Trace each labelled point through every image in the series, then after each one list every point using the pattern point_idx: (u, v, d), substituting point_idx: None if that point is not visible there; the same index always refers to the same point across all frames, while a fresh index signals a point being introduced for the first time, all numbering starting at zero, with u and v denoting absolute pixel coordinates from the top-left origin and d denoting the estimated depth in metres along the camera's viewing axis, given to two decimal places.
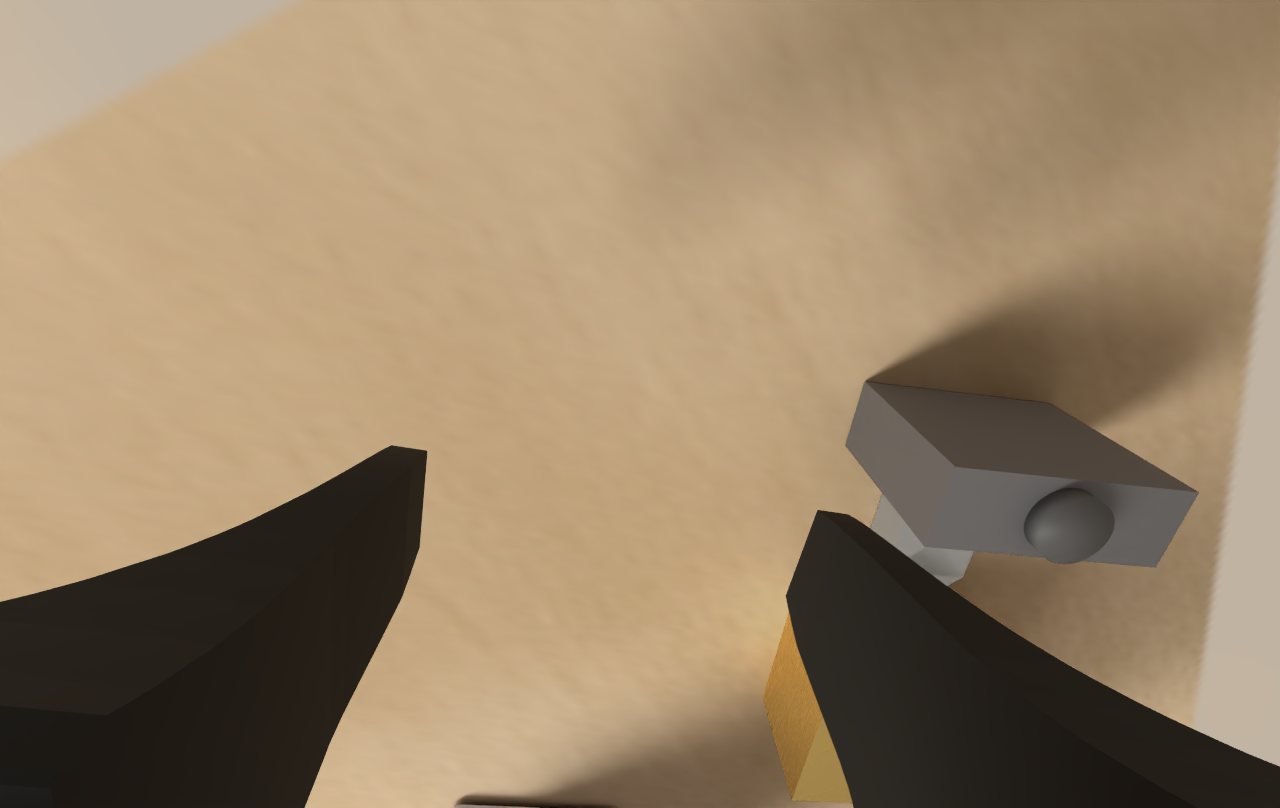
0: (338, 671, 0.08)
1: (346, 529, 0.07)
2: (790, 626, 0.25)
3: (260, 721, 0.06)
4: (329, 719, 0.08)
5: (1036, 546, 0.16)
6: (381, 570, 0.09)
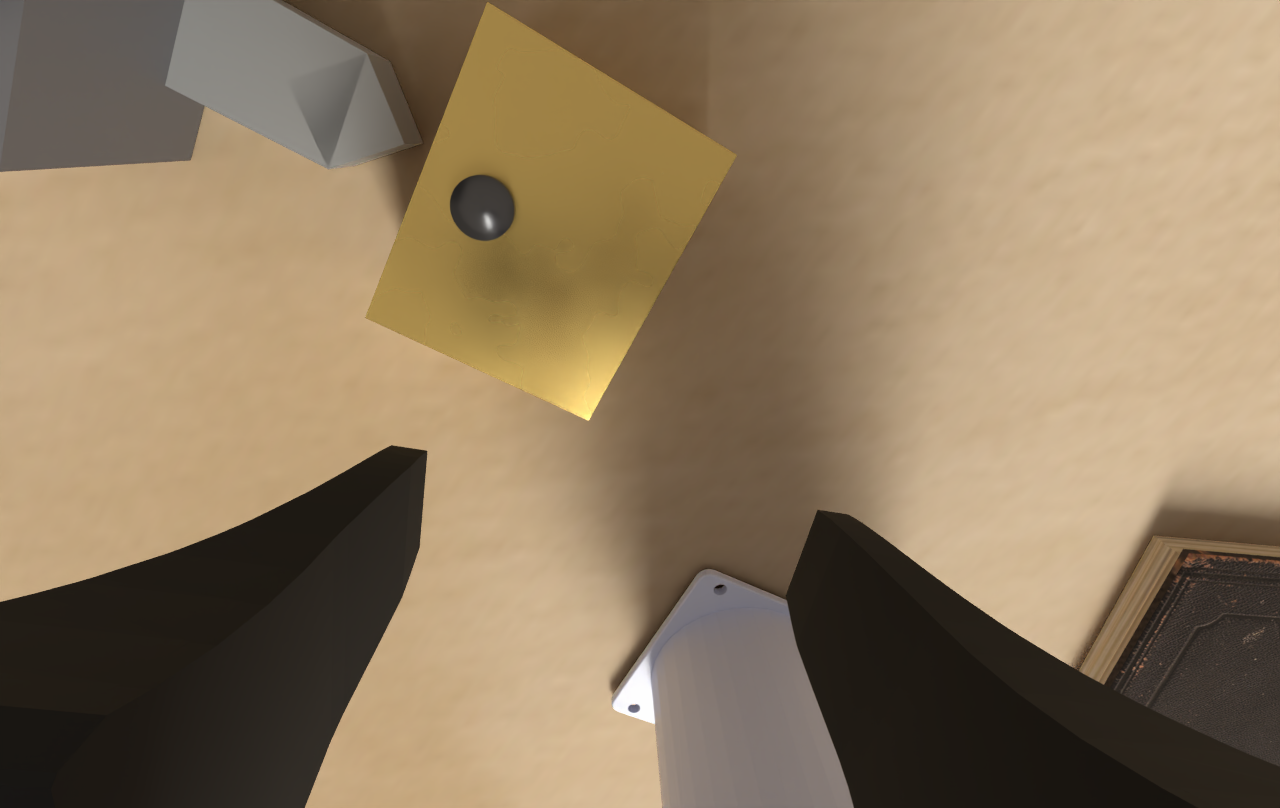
0: (338, 671, 0.08)
1: (346, 529, 0.07)
2: None
3: (260, 721, 0.06)
4: (330, 718, 0.08)
5: None
6: (381, 570, 0.09)
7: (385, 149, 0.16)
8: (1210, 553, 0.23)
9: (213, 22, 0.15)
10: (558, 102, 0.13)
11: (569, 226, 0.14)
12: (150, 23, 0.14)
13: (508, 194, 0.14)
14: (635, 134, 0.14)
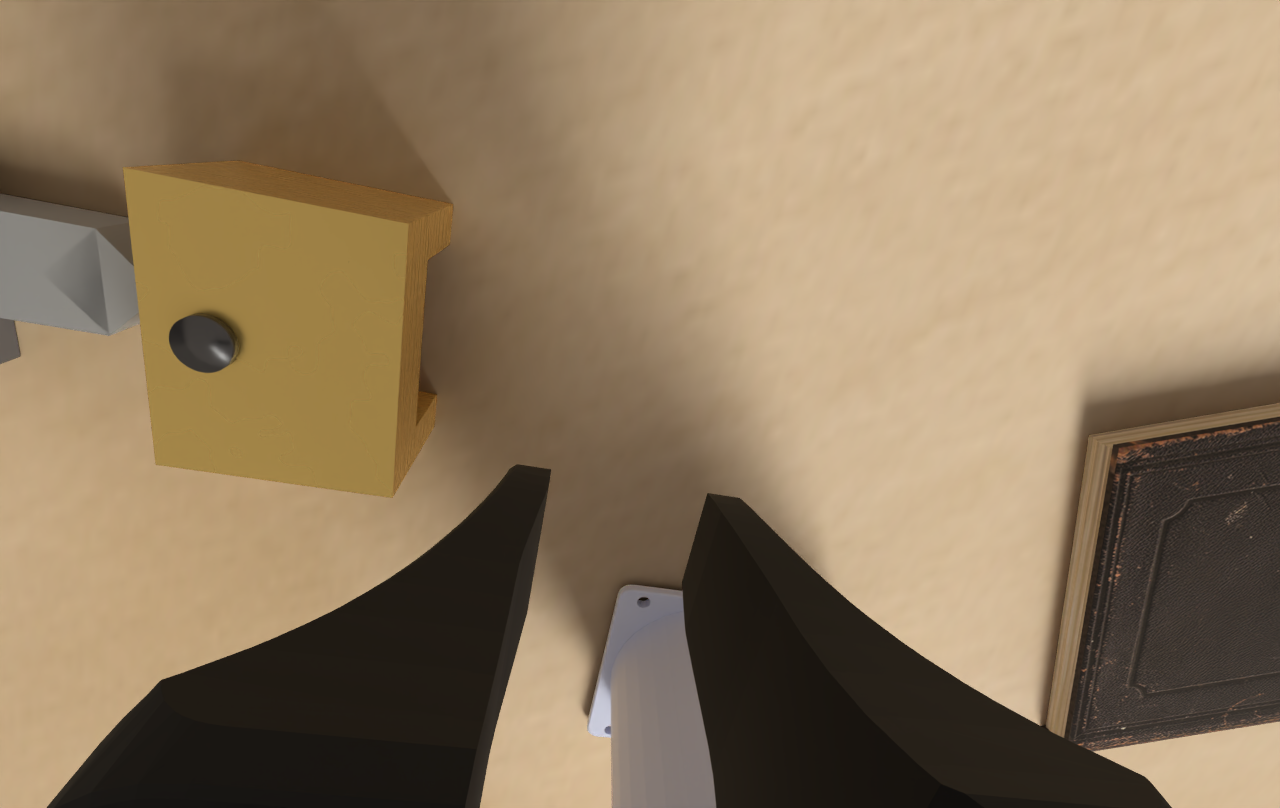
0: (500, 688, 0.08)
1: (523, 553, 0.08)
2: None
3: (486, 742, 0.06)
4: (492, 734, 0.08)
5: None
6: (525, 588, 0.09)
7: None
8: (1145, 441, 0.21)
9: None
10: (225, 231, 0.14)
11: (289, 334, 0.15)
12: None
13: (216, 325, 0.14)
14: (307, 236, 0.14)
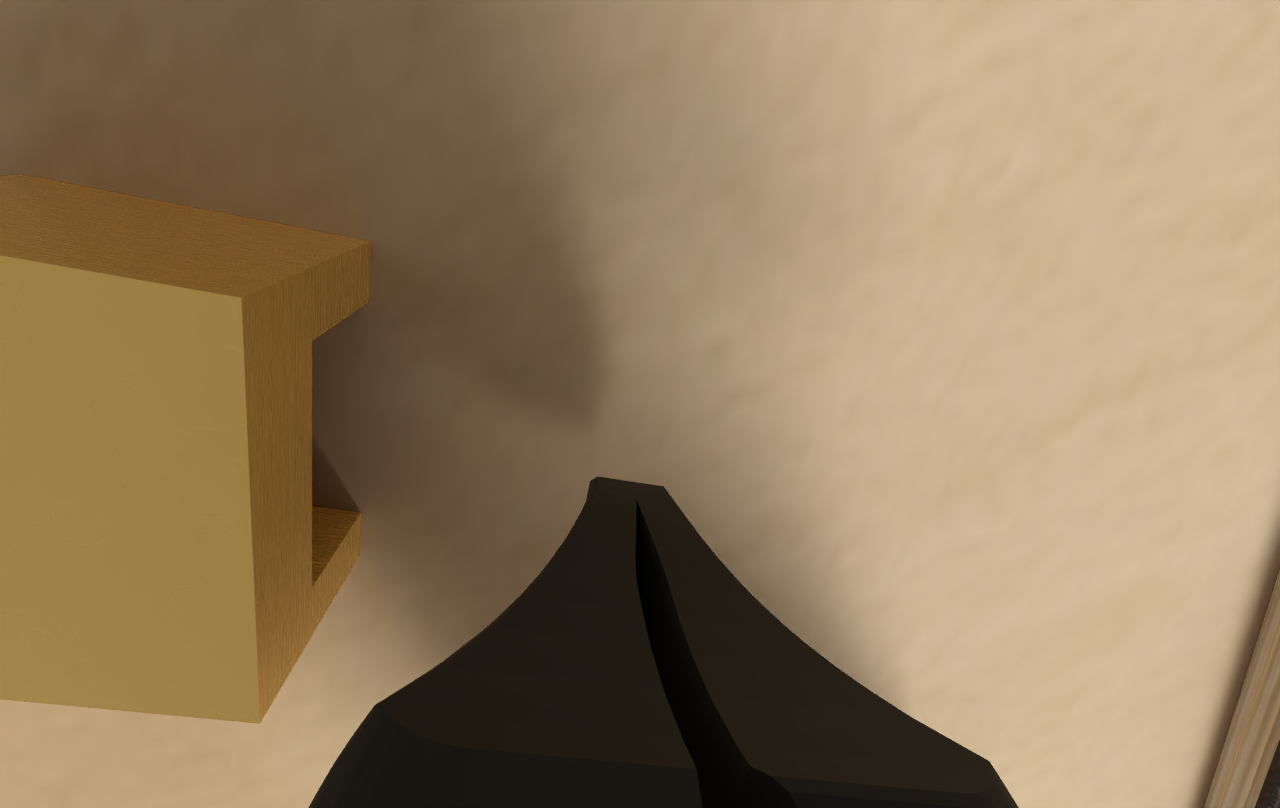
0: None
1: (634, 567, 0.08)
2: None
3: None
4: None
5: None
6: None
7: None
8: None
9: None
10: None
11: (49, 486, 0.08)
12: None
13: None
14: (54, 321, 0.08)
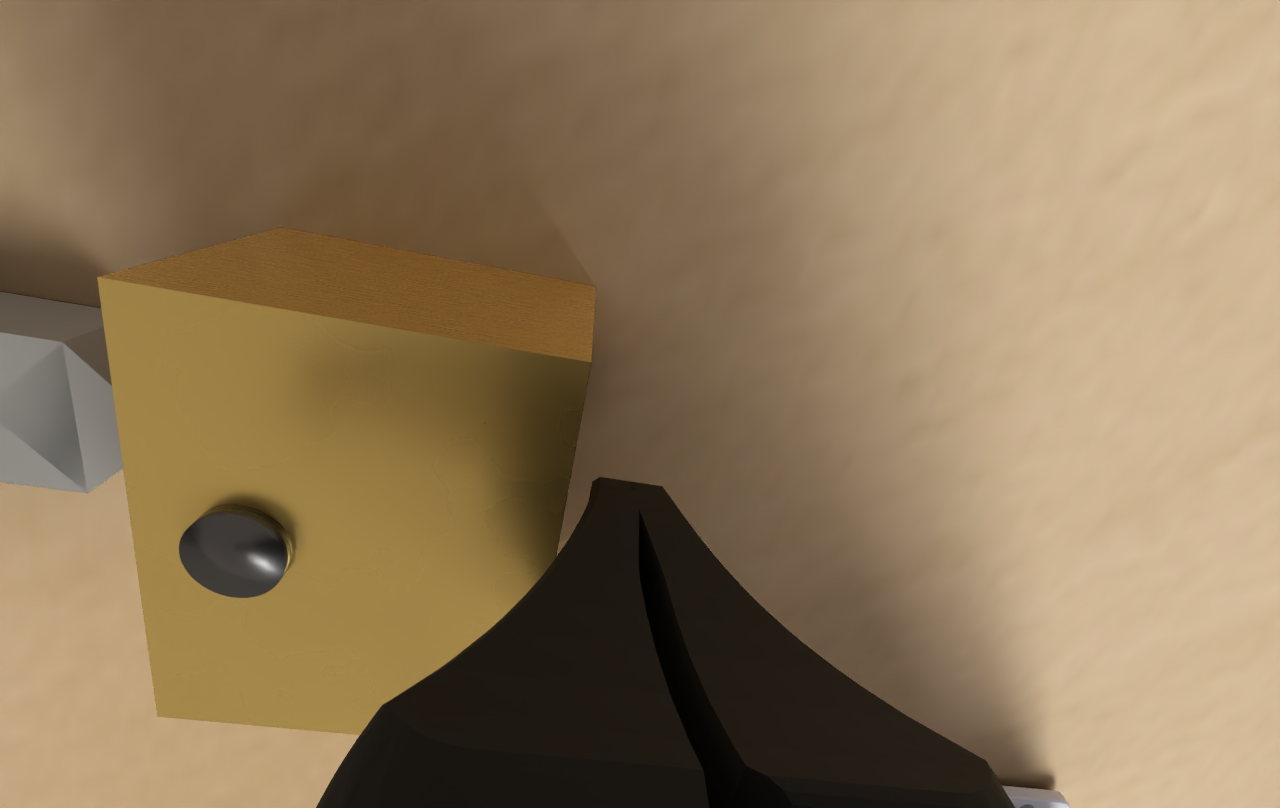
0: None
1: (637, 568, 0.08)
2: None
3: None
4: None
5: None
6: None
7: None
8: None
9: None
10: (277, 379, 0.08)
11: (378, 533, 0.09)
12: None
13: (259, 529, 0.09)
14: (417, 385, 0.08)
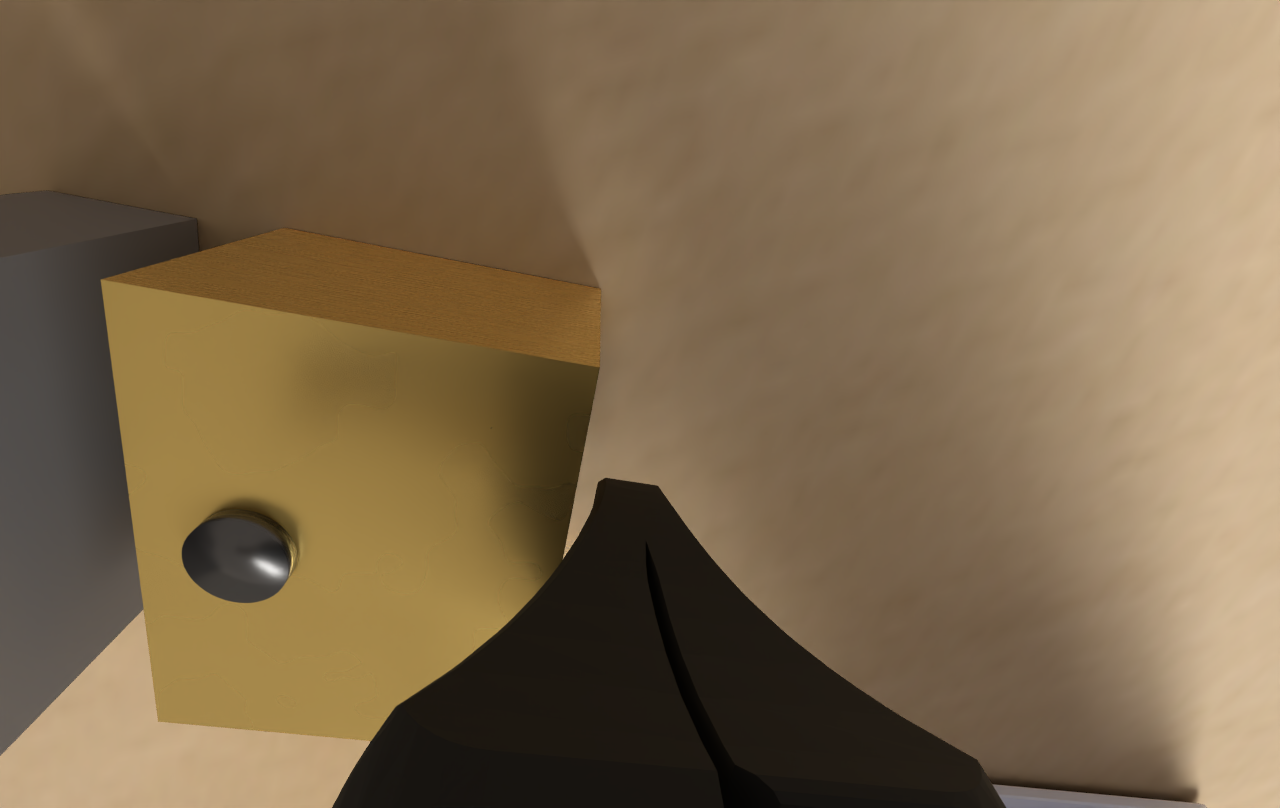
0: None
1: (645, 569, 0.08)
2: None
3: None
4: None
5: None
6: None
7: None
8: None
9: None
10: (283, 383, 0.08)
11: (382, 538, 0.09)
12: (111, 463, 0.10)
13: (263, 533, 0.08)
14: (424, 389, 0.08)
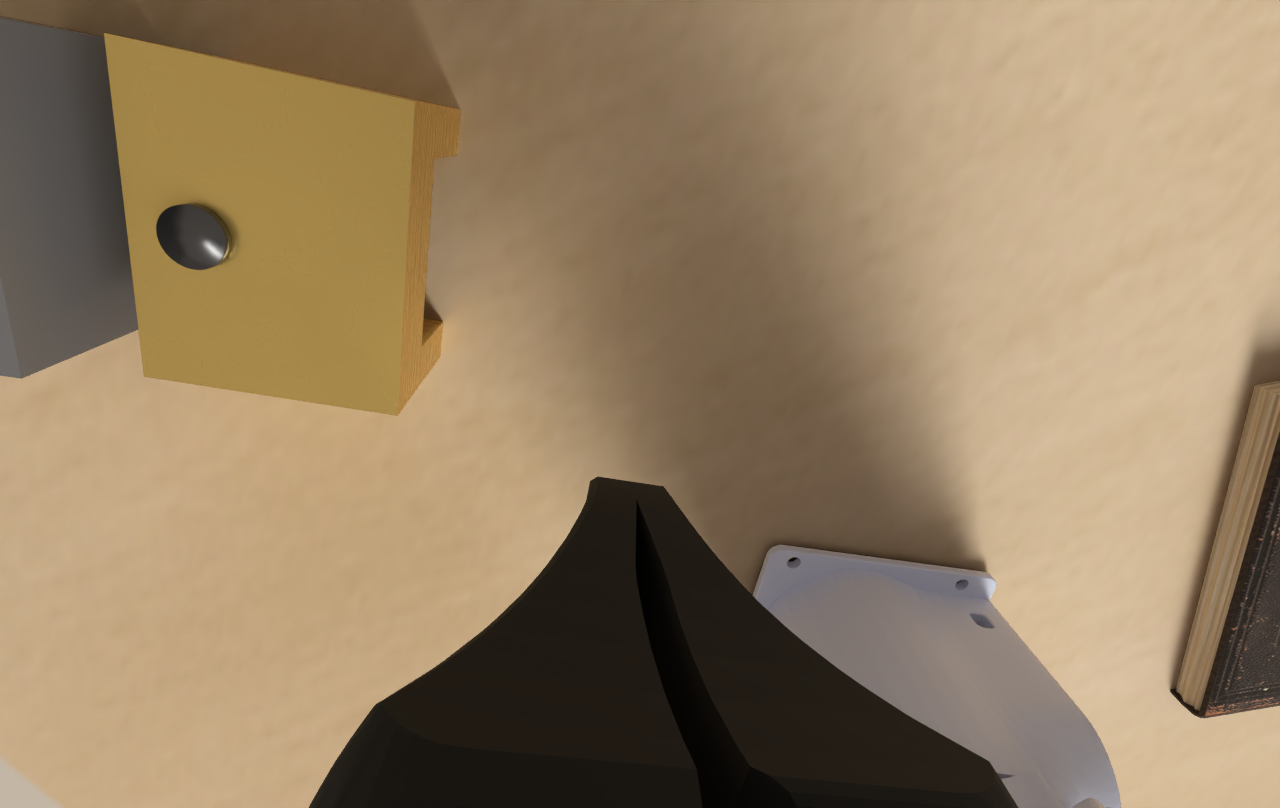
0: None
1: (634, 567, 0.08)
2: None
3: None
4: None
5: None
6: None
7: None
8: None
9: None
10: (216, 108, 0.13)
11: (287, 229, 0.14)
12: (110, 205, 0.15)
13: (207, 214, 0.13)
14: (305, 115, 0.13)
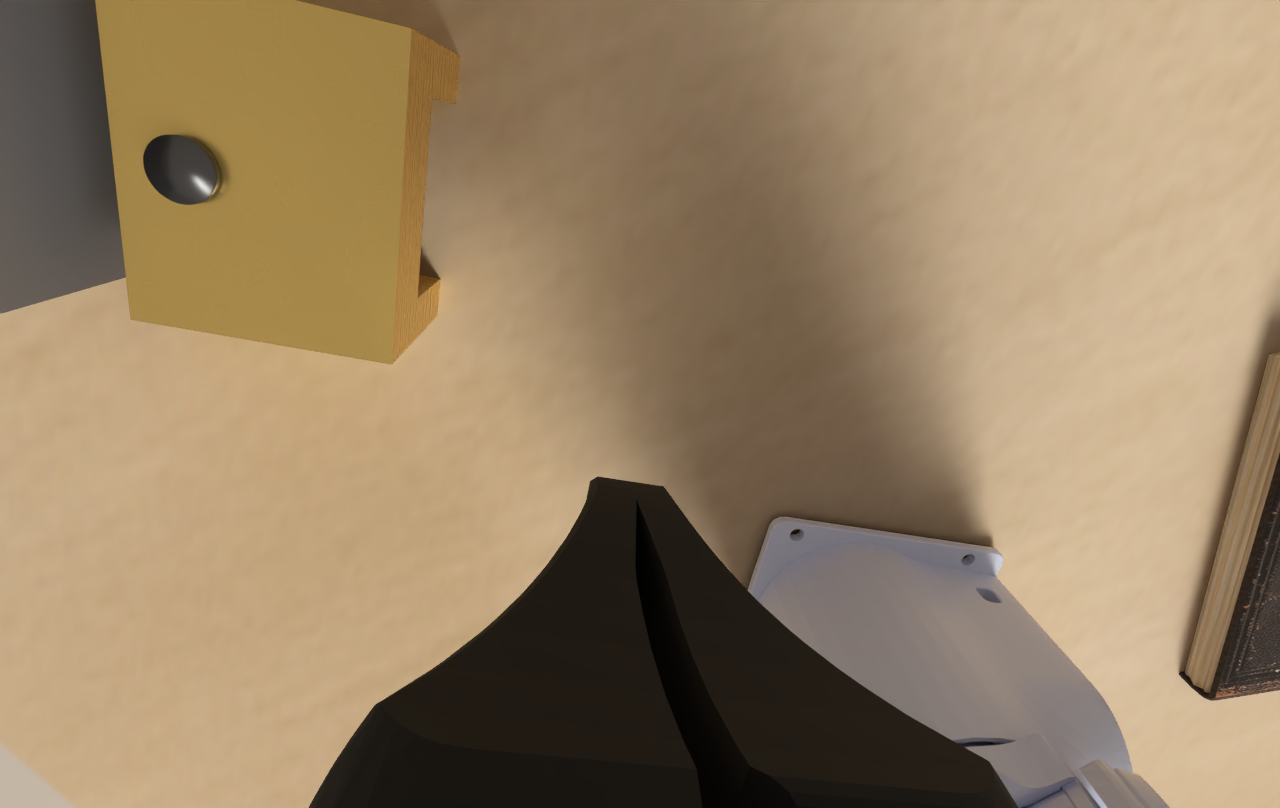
0: None
1: (634, 567, 0.08)
2: None
3: None
4: None
5: None
6: None
7: None
8: None
9: None
10: (206, 33, 0.12)
11: (278, 163, 0.13)
12: (97, 143, 0.15)
13: (196, 146, 0.13)
14: (298, 40, 0.13)
